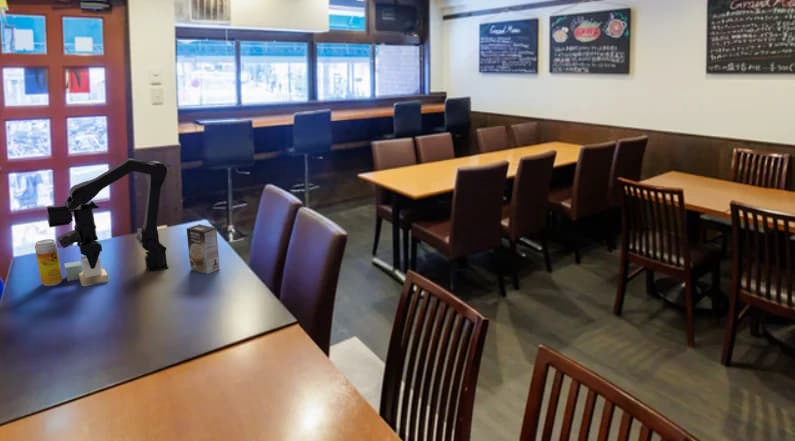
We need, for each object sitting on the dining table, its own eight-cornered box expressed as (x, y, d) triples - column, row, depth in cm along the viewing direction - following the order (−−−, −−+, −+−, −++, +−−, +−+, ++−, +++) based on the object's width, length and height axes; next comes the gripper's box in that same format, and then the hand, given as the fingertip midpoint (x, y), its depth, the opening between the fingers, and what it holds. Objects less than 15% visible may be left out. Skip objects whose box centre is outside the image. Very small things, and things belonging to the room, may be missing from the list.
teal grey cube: (82, 274, 193) (80, 260, 192) (84, 278, 189) (82, 264, 188) (66, 276, 190) (64, 263, 189) (67, 281, 187) (65, 267, 185)
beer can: (52, 287, 181) (45, 244, 177) (37, 285, 182) (29, 243, 178) (66, 280, 187) (59, 239, 183) (51, 279, 188) (44, 238, 184)
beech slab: (105, 276, 193) (103, 268, 192) (108, 283, 186) (107, 274, 186) (79, 280, 188) (78, 272, 187) (82, 288, 182) (81, 279, 181)
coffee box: (189, 270, 197) (185, 228, 193) (203, 264, 203) (199, 223, 198) (207, 274, 193) (203, 231, 189) (220, 268, 199) (217, 227, 194)
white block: (99, 270, 190) (97, 254, 188) (101, 274, 186) (99, 258, 184) (83, 273, 187) (81, 256, 185) (85, 277, 183) (82, 260, 182)
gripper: (54, 219, 184) (62, 262, 189) (59, 232, 170) (67, 279, 174) (91, 215, 191) (98, 256, 195) (98, 227, 176) (105, 271, 180)
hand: (91, 265), depth 186 cm, fingers open, 6 cm apart
